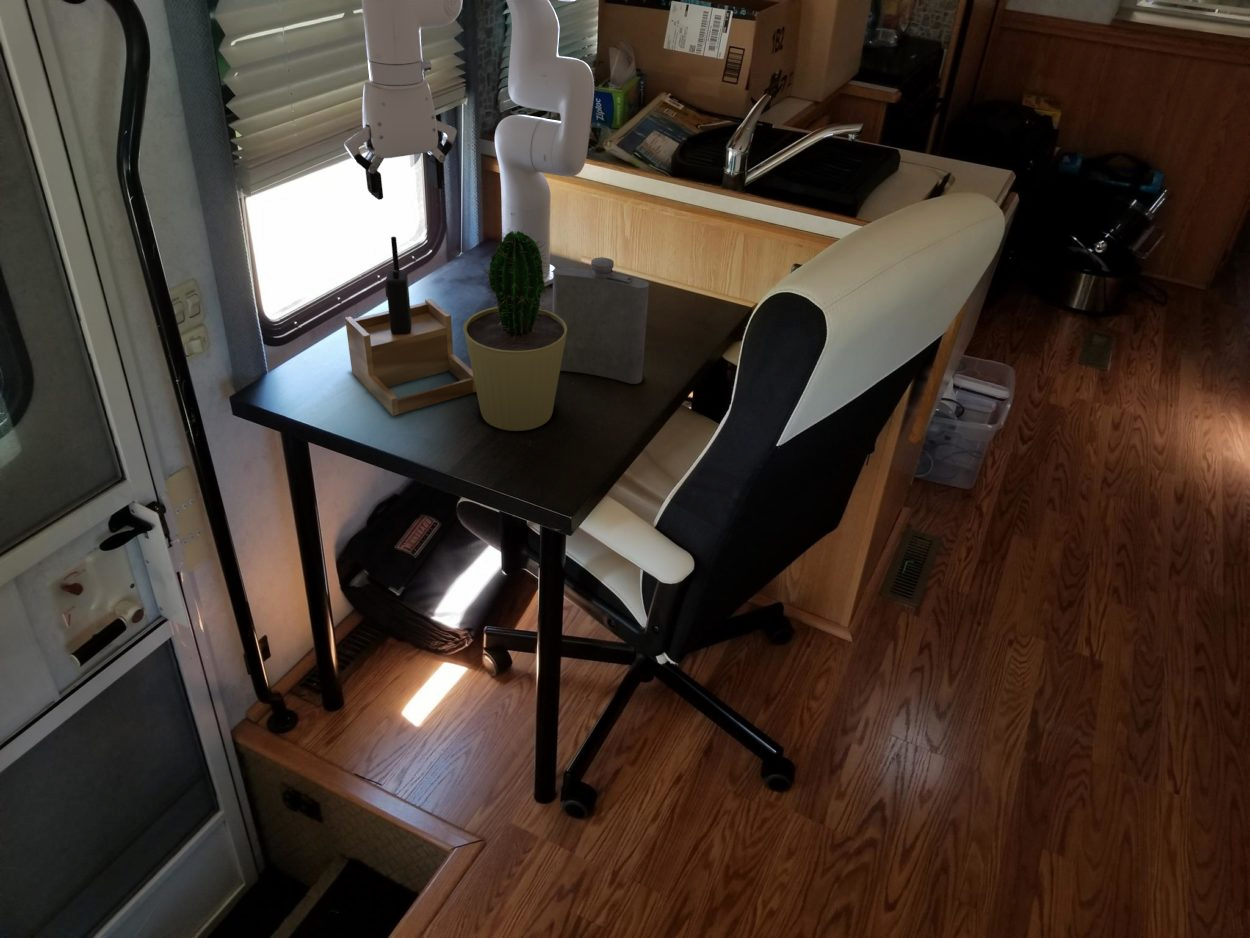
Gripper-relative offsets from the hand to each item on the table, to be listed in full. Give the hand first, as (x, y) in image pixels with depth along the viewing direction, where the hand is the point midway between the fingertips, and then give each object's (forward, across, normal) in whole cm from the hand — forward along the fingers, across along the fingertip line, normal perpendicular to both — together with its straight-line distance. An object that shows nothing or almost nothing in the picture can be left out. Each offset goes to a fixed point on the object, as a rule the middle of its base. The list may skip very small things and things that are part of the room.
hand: (406, 191), depth 142 cm
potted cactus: (+30, -6, +22) cm, 37 cm away
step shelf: (+30, +4, +6) cm, 30 cm away
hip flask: (+30, -24, +18) cm, 42 cm away
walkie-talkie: (+22, +4, +1) cm, 22 cm away
